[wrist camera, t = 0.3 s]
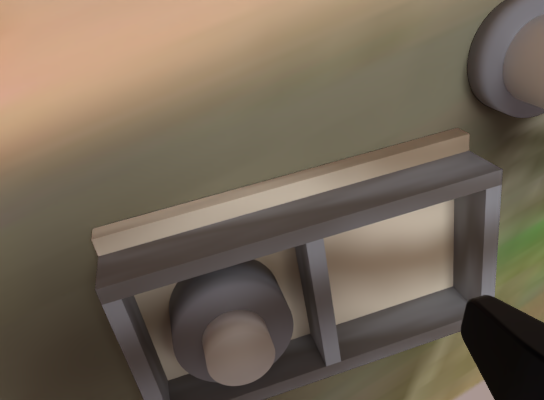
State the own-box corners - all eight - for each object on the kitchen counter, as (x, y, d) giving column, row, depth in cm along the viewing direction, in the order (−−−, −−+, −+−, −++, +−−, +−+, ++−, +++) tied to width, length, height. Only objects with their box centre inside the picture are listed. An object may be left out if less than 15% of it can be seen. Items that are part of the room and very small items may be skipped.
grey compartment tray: (455, 294, 30) (510, 351, 25) (161, 392, 27) (167, 474, 23) (457, 127, 25) (528, 163, 20) (92, 228, 22) (83, 295, 17)
